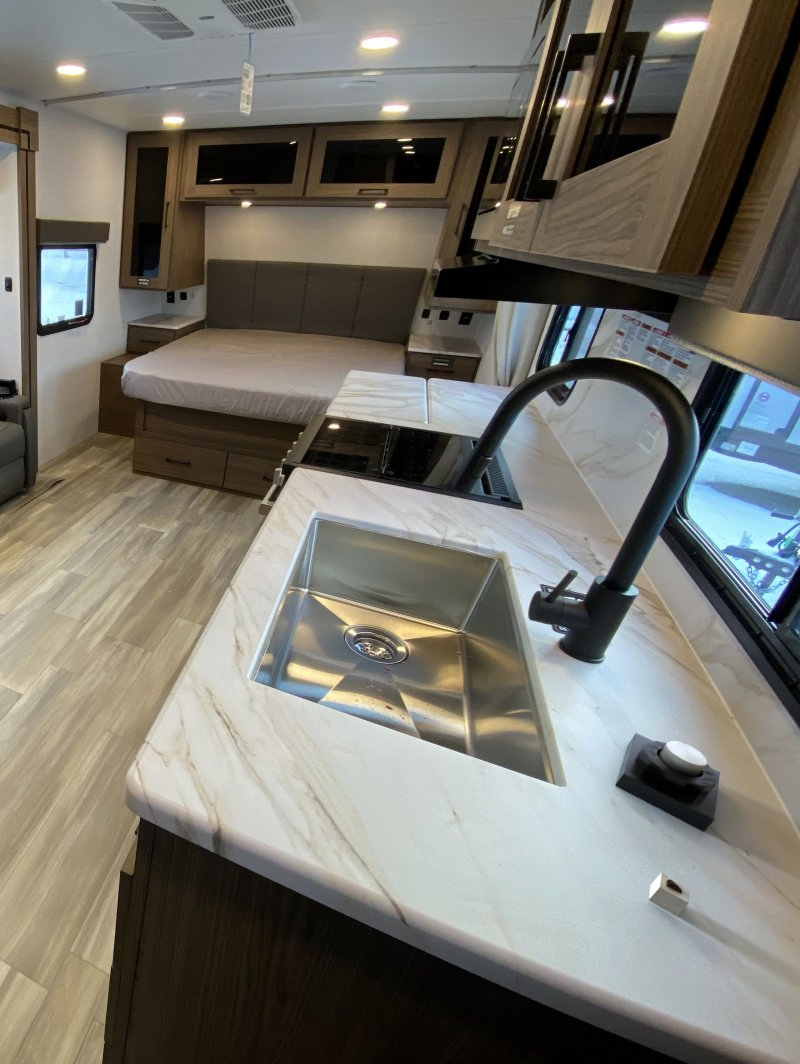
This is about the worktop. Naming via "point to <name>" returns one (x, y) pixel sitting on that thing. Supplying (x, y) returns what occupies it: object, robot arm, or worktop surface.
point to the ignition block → (668, 784)
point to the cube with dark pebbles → (669, 894)
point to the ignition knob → (683, 758)
